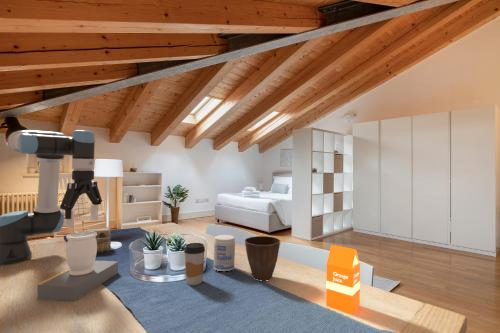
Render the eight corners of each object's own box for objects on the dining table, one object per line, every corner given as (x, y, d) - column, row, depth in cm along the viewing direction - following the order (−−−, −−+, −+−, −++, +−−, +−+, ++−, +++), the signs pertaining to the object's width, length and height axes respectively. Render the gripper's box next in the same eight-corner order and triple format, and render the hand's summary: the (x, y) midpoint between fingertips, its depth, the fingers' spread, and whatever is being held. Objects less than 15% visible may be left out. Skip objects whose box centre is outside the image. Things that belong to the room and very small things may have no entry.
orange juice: (335, 297, 101) (335, 242, 101) (360, 305, 96) (360, 247, 96) (325, 305, 95) (326, 247, 95) (351, 314, 90) (352, 252, 90)
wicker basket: (83, 248, 159) (84, 228, 159) (111, 246, 164) (111, 226, 164) (78, 256, 145) (78, 234, 145) (108, 253, 150) (108, 232, 150)
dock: (88, 271, 124) (88, 259, 124) (118, 272, 123) (118, 260, 123) (37, 298, 98) (37, 283, 98) (74, 301, 97) (74, 285, 97)
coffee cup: (208, 280, 116) (209, 244, 116) (196, 288, 108) (197, 249, 108) (192, 276, 119) (192, 241, 119) (179, 284, 112) (179, 246, 112)
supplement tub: (216, 274, 122) (217, 240, 122) (211, 267, 131) (211, 235, 131) (237, 271, 126) (237, 238, 126) (230, 264, 135) (231, 233, 135)
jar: (82, 278, 104) (82, 238, 104) (58, 276, 106) (59, 236, 106) (102, 268, 114) (103, 231, 114) (81, 266, 116) (81, 230, 116)
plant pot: (238, 280, 115) (238, 242, 115) (254, 269, 129) (254, 234, 129) (271, 288, 108) (271, 247, 108) (284, 275, 122) (285, 238, 122)
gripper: (68, 170, 98) (67, 231, 98) (111, 169, 122) (110, 218, 123) (48, 170, 99) (47, 230, 99) (95, 169, 123) (94, 217, 123)
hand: (82, 223), depth 111 cm, fingers open, 13 cm apart
